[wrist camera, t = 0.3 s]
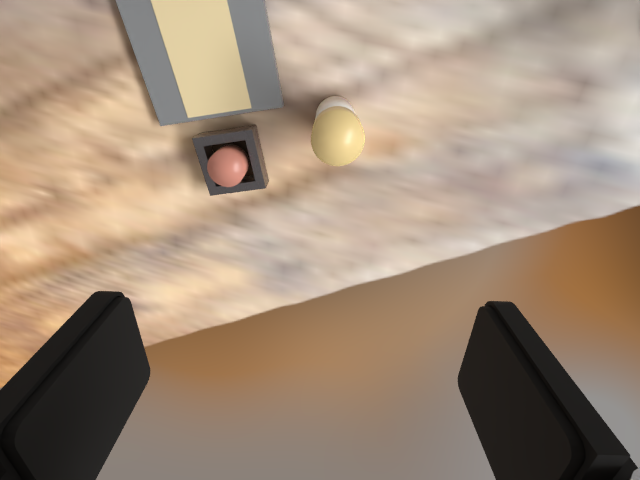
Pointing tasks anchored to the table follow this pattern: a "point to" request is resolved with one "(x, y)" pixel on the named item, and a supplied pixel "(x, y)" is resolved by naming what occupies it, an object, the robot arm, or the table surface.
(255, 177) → the button housing
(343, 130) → the marker
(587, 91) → the table surface
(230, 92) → the board
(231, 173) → the button
